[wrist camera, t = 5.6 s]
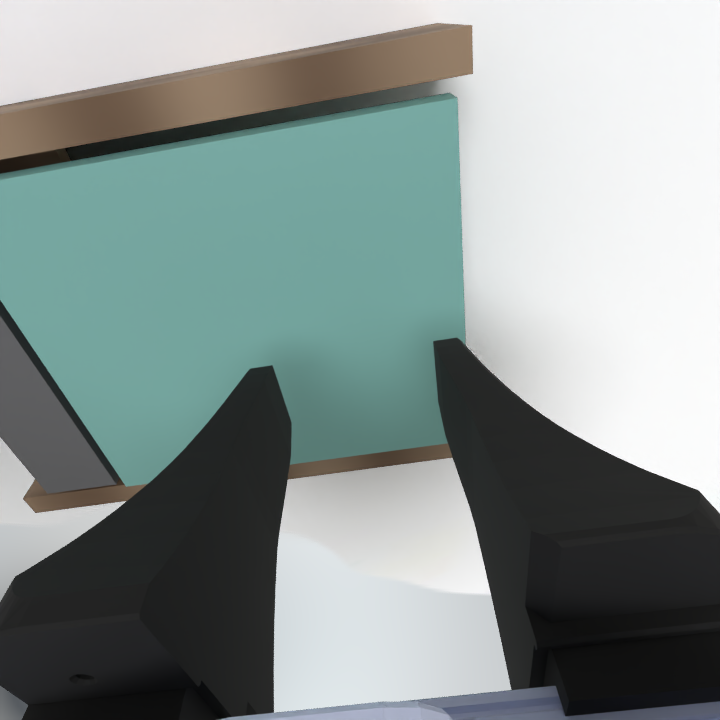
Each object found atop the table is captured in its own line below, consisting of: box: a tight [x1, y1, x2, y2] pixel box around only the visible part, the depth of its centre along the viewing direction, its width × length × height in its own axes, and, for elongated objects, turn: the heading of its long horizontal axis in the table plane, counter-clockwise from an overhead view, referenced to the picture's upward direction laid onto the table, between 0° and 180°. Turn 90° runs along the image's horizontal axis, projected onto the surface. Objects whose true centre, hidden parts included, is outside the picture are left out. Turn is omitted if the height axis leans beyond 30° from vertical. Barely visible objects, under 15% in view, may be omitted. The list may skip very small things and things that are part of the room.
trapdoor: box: [0, 93, 465, 494], centre depth 17 cm, size 18×12×3 cm
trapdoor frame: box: [0, 23, 473, 513], centre depth 18 cm, size 20×15×5 cm
